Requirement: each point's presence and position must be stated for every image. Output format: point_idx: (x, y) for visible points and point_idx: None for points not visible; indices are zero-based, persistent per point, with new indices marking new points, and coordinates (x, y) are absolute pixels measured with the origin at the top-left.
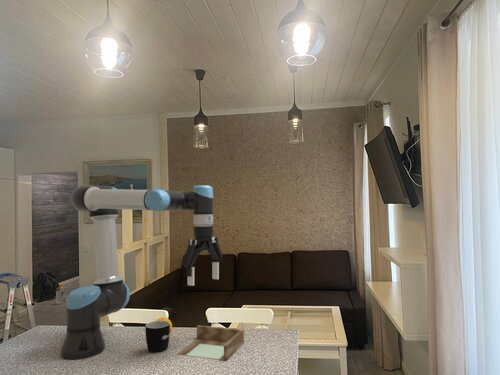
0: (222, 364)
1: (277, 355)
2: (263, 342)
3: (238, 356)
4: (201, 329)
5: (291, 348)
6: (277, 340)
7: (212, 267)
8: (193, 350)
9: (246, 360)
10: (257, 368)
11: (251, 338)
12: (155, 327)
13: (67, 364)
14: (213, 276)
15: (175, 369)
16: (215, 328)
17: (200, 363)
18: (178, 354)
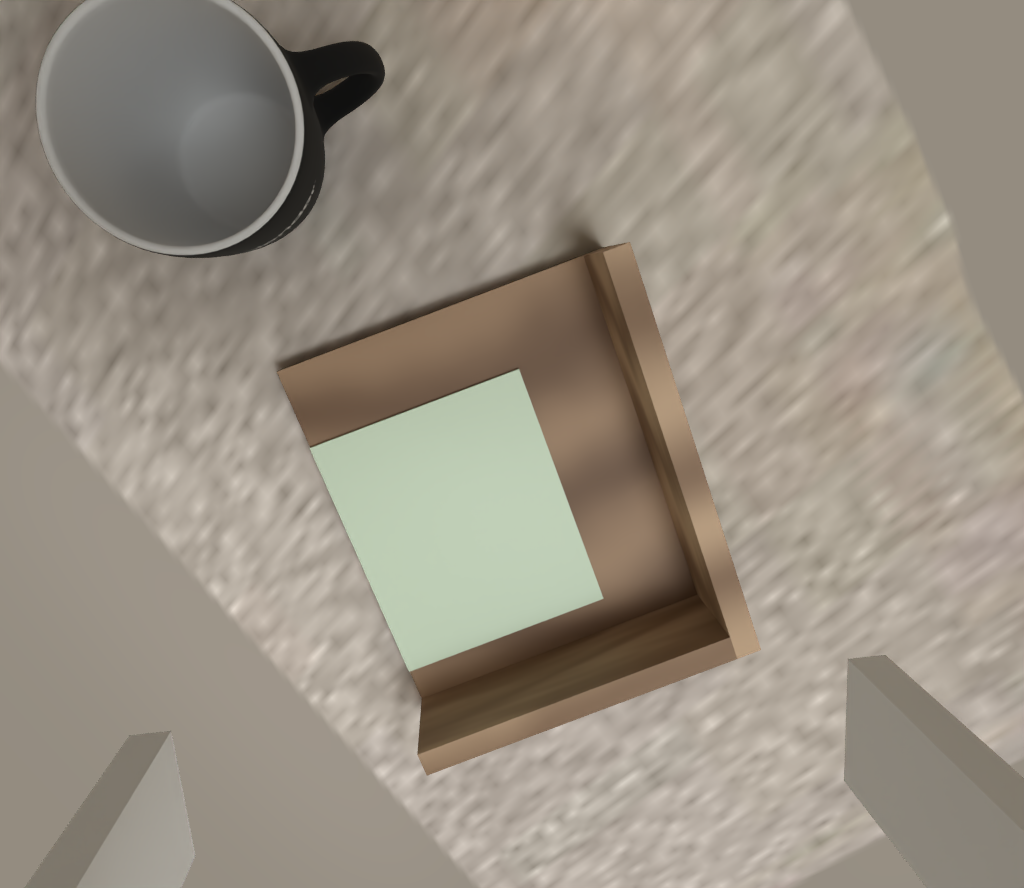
0: (406, 690)
1: (699, 846)
2: (830, 662)
3: None
4: (613, 300)
5: (833, 847)
6: None
7: (1008, 822)
8: (397, 430)
9: (537, 759)
10: (492, 866)
11: (851, 552)
12: (230, 24)
13: None
14: (873, 711)
15: (163, 520)
16: (661, 435)
17: (327, 577)
18: (286, 389)
